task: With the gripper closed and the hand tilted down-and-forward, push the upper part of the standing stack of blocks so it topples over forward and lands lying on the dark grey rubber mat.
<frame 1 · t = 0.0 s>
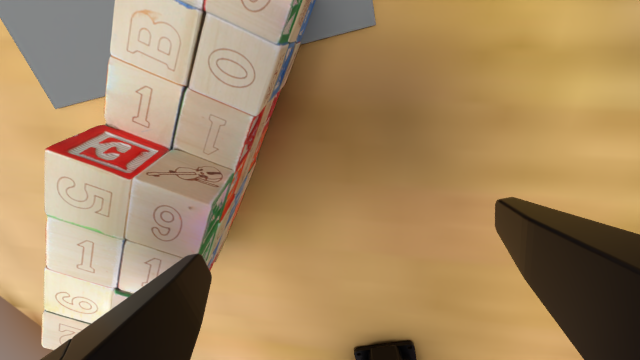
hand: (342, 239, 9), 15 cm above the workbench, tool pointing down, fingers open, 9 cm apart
stack of blocks: (226, 123, 23), on the workbench, touching mat
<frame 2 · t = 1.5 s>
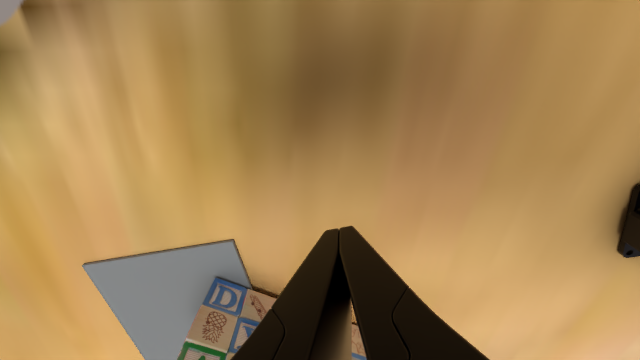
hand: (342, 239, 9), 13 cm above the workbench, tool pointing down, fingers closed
stack of blocks: (310, 332, 29), on the workbench, touching mat
mat: (206, 345, 30), on the workbench
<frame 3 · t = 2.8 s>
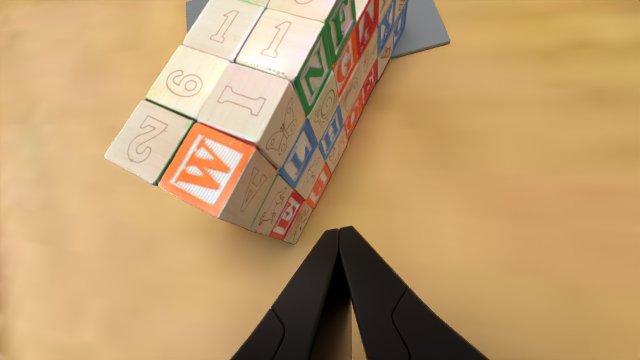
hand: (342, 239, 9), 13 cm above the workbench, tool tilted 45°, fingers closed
stack of blocks: (322, 116, 25), on the workbench, touching mat
mat: (302, 21, 29), on the workbench
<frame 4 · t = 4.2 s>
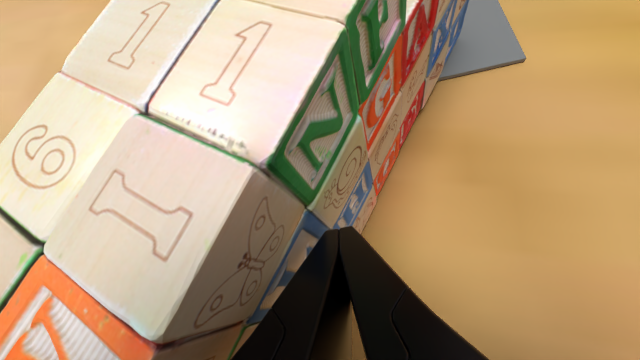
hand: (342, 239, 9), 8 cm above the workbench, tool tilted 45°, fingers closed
stack of blocks: (341, 158, 18), on the workbench, touching mat
mat: (317, 26, 22), on the workbench
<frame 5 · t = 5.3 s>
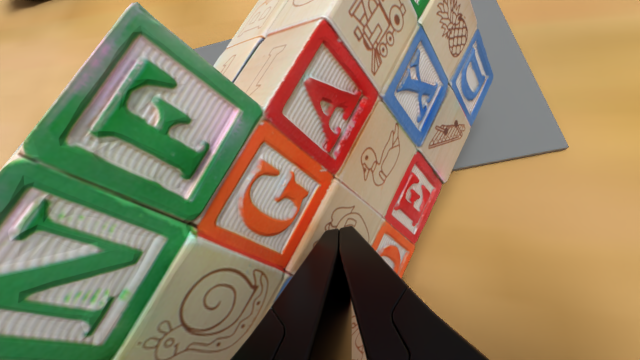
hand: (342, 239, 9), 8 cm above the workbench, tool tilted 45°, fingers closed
stack of blocks: (353, 254, 15), point 2 cm above the workbench, touching mat
mat: (330, 94, 20), on the workbench
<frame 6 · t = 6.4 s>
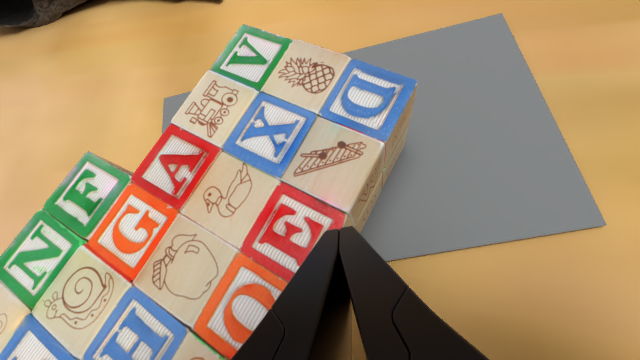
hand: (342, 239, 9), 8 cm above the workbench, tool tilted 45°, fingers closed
stack of blocks: (310, 329, 12), point 3 cm above the workbench, touching mat
mat: (338, 150, 18), on the workbench
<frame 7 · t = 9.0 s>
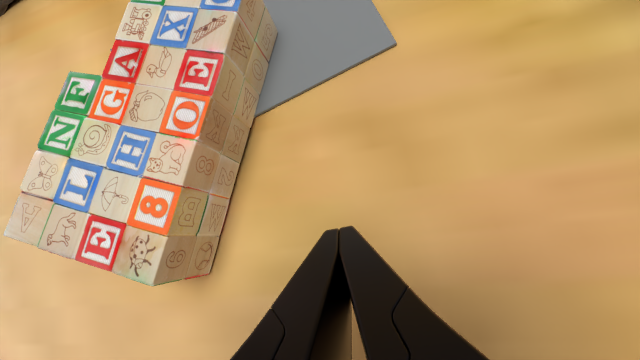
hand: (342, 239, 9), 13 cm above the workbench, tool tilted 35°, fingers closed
stack of blocks: (231, 135, 22), point 3 cm above the workbench, touching mat
mat: (238, 48, 27), on the workbench
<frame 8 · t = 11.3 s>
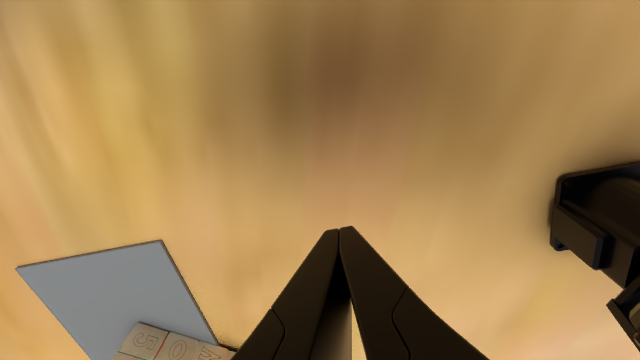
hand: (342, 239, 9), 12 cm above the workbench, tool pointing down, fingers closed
mat: (151, 345, 30), on the workbench
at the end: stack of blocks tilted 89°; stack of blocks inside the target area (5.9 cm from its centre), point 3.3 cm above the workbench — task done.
